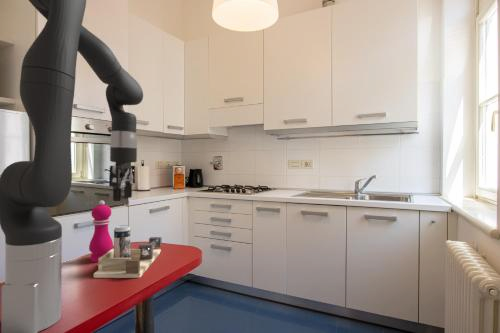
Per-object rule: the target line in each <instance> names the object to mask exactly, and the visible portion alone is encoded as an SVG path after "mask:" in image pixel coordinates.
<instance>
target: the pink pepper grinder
mask: <svg viewBox="0 0 500 333" xmlns="http://www.w3.org/2000/svg"><path fill="white" fill-rule="evenodd" d="M111 216H112V208H111V207H110V206H109V205H106V204H105V200H100V201H99V202H98V205H95V207H93V208H92V210H91V217H92V218H93V220H92V221H93V223H92V225H94V232H93V235H92V237H91V239H90V241H89V245H88V246H89V247H88V250H89V251H90V252H91V254H90V262H92V263H98V259H99V258H100V257H102V256H103V255H104V254H106V253H107V252H109V251H110V250H111V249H114V240H113V238H112V237H111V234H110V232H109V224H110V220H111V219H110V217H111Z"/></svg>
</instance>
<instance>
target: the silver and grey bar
mask: <svg viewBox="0 0 500 333" xmlns="http://www.w3.org/2000/svg"><path fill="white" fill-rule="evenodd" d="M148 244H153V249H155V248H161V247H162V236H152V237H151V236H150V237H149V238H148ZM148 253H149V249H144V250H143V251H142V252H141V255H142V256H143V257H145V256H147V255H148Z"/></svg>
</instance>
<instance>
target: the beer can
mask: <svg viewBox="0 0 500 333" xmlns="http://www.w3.org/2000/svg"><path fill="white" fill-rule="evenodd" d="M113 249H114V258H130V249H131V227H130V225H127V224H121V225H120V224H119V225H116V226H115V228H114V229H113Z"/></svg>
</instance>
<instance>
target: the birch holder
mask: <svg viewBox="0 0 500 333" xmlns="http://www.w3.org/2000/svg"><path fill="white" fill-rule="evenodd" d="M144 249H149V253H148V255H147V256H145V257H143V256H142V255H141V252H142V251H143V250H144ZM160 252H161V253H162V249H161V248H153V244H149V243H139V244H138V248H130V258H114V248H112V249H111V250H110V251H109V252H107V253H106V254H104V255H103V256H102V257H100V258H99V259H98V262H97V264H98V270H96V271H95V272H94V273H93V278H94V279H103V278H104V279H109V278H110V279H112V278H113V279H114V278H115V279H120V278H121V279H122V278H123V279H127V278H129V279H131V278H132V279H134V278H136V279H137V278H138V279H139V278H141V277H142V276H143V275H144V273H145V272H146V271H147V270H148V269H149V268H150V266H151V265H152V263H153V262H154V261H155V260H156V259H157V258H158V256H159V255H160V254H161V253H160Z"/></svg>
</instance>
